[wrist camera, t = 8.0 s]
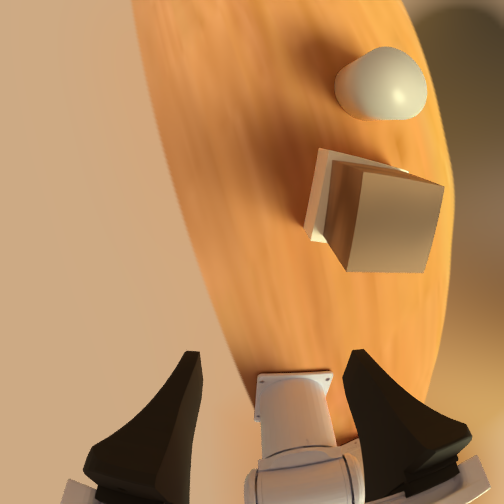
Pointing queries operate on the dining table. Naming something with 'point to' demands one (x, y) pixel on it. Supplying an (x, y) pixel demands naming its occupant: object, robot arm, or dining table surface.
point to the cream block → (327, 190)
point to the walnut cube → (380, 218)
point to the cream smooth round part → (381, 86)
